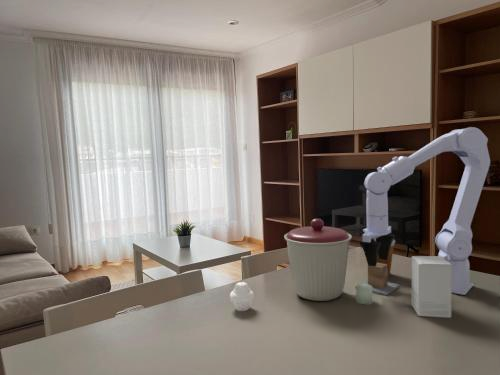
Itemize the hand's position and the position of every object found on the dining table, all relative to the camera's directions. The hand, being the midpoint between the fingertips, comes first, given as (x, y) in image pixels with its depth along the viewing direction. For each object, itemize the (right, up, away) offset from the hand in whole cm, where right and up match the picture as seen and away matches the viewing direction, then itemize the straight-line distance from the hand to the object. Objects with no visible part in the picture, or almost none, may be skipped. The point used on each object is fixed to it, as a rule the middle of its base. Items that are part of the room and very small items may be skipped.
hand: (377, 262), depth 107 cm
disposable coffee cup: (+5, -6, +12) cm, 14 cm away
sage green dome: (-6, -8, -9) cm, 14 cm away
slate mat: (0, -7, +1) cm, 7 cm away
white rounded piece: (-38, -10, -11) cm, 41 cm away
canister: (-17, -8, -3) cm, 20 cm away
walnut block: (0, -7, +1) cm, 7 cm away
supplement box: (+7, -9, -16) cm, 20 cm away
